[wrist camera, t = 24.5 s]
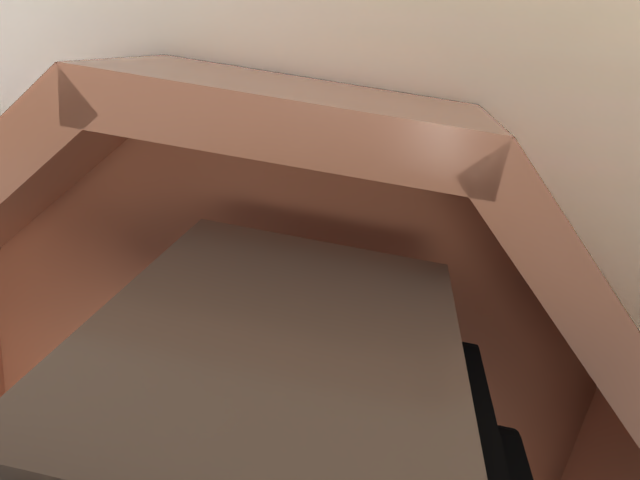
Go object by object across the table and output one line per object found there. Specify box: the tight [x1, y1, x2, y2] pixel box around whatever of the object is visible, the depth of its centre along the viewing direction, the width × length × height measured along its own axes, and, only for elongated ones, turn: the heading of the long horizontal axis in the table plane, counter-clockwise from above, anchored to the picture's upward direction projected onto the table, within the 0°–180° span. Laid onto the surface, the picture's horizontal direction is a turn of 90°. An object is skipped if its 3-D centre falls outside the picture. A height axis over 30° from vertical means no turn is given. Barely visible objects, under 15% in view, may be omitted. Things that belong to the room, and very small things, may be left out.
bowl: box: [0, 55, 640, 480], centre depth 13 cm, size 17×17×4 cm
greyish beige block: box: [0, 219, 488, 480], centre depth 8 cm, size 4×5×6 cm
